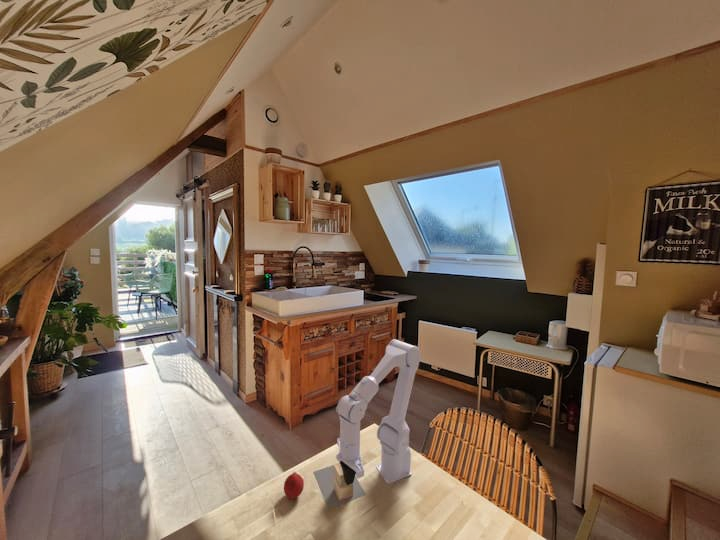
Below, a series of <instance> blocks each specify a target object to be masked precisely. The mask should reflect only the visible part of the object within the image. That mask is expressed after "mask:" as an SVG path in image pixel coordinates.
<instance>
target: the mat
mask: <svg viewBox="0 0 720 540" xmlns="http://www.w3.org/2000/svg"><path fill="white" fill-rule="evenodd" d="M339 463H340V462H338V463H335V464H333V465H329V466H327V467H323V468H320V469H318V470H315V471H313V474H314V477H315V480H316V482H317V484H318V486H319V489H320V492H321V495H322V496H323V499H324V501H325V505H326V506H327V508H328V510H330V509H334V508H336V507H338V506H341V505H343V504H346V503H348V502H350V501H353V500H356V499H358V498H361V497H363V496H365V495H367V494H366V491H365V490H364V489H363V486H362V485H361V483H360V482H359V480H358V479H357V477H356V475H355V478H354V482H353V496H351V497H348V498H346V499H343V500H341V501H339V499H338V497H337V495H336V493H335V491H334V465H336V464H339Z"/></svg>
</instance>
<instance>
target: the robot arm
mask: <svg viewBox="0 0 720 540" xmlns="http://www.w3.org/2000/svg"><path fill="white" fill-rule="evenodd" d="M421 357H422V353H421V350H420V348H419V346H417V345H412V344H410V343H407V342H404V341H401V340H398V339H396V338H394V339H391V340H390V342H389V343H388V344H387V345H386V347H385V353H384V356H383V357H382V358H381V360H380V361H379V363H378V364H377V365H376V367H375V368H374V370H373V371H372V372H371V374H370V375H366V376H364V377H362V379H361V380H360V381H359V382H358V383H357V385H356V386H355V387H354V388H353V389H352V390H351V391H350V392H349V394H348V395H347V394H346V395H343V396H342V397H340V399H339V400H338V403H337V404H336V405H337V406H336V407H335V411H336V413H337V414H338V416H339V417H338V419H339V420H340V423H339V424H340V425H339V428H340V429H339V437H338V438H337V439H336V440H337V441H336V442H337V443H336V445H337V446H338V453H336V454H335V459H336V460H337V462H338V463H340V464H341V467H342V470H343V475H344V480H345V483H346V485H350V484H352V483H353V482H354V478H355V476H356V478H357V480H358V479H360V478H363V477H365V469H364V467H363V463H362V461H363V460H362V456H361V421H362V419H363V418H364V417H365V414H366V410H367V409H368V404H369V403H370V402H371V400H372V399H373V398H374V396H375V395H376V394H377V393H378V392H379V391H380V390H379V389H380V388H379V384H380V383H381V382H382V381H383V380H384V379H385V378H386V377H387V376H388V375H389V374H390V373H391V371H393V369H394V368H395V367H398V369H399V371H398V377H397V381H396V384H395V389H394V393H393V397H392V401H391V405H390V410H389V414H388V415H387V416H386V415H385V416H384V417H382V418H381V421H380V422H381V423H380V424H379V426H378V427H377V431H376V438H377V439H378V440H379V445H381V450H380V451H381V456H380V457H381V458H380V461H381V462H380V464H378V465H375V468H376V470H377V471H378V473H379V474H380V476H382V478H383V480H385V482H386V483H387V484H389V485H390V484H392V483H394V482H396V481H399V480H401V479H405V478H407V477H409V476H411V475H412V472H411V461H412V460H411V459H412V458H411V457H412V453H411V450H410V447H409V444H410V431H411V429H410V428H409V426H408V424H407V422H406V420H405V419H406V415H407V411H408V407H409V404H410V403H409V401H410V397H411V393H412V389H413V385H414V382H415V381H414V380H415V377H416V372H417V371H418V369H419V366H420V361H421Z"/></svg>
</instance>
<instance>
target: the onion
mask: <svg viewBox="0 0 720 540" xmlns="http://www.w3.org/2000/svg"><path fill="white" fill-rule="evenodd" d="M283 483H284V484H283V492H284V494H285V497H287V498H288V499H291V500H293V499H296V498H298V497H299V496H301V494H302V492H303V490H304V488H305V487H304V486H305V485H304V483H305V482H304V479H303V477H302V476H301V475H300V474H299V473H297V471H293V472H292V473H291V474H290V475H288V476H287V478H286V479H285V481H284V482H283Z"/></svg>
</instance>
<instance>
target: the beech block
mask: <svg viewBox="0 0 720 540" xmlns="http://www.w3.org/2000/svg"><path fill="white" fill-rule="evenodd" d="M338 463H339V464H338ZM338 463H335V464H336V465H335V464H333V465H334V491H335V493H336V495H337V497H338V499H339V501H341V500H343V499H346V498H348V497H351V496H353V483H352V484H350V485H346V483H345V480H344V475H343V470H342V467H341V464H340V462H338Z"/></svg>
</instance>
